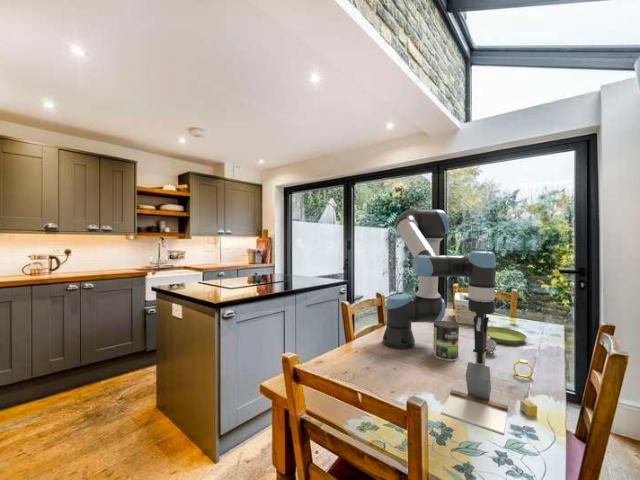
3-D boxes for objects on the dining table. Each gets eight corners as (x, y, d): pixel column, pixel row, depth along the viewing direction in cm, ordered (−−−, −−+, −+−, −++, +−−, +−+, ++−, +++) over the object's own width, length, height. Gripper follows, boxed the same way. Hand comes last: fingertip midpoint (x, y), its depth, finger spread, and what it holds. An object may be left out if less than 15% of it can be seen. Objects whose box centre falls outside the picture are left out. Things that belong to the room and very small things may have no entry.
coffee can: (464, 359, 127) (464, 326, 127) (443, 362, 125) (443, 328, 124) (447, 350, 137) (448, 319, 137) (428, 352, 135) (428, 321, 134)
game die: (491, 362, 134) (503, 349, 128) (472, 354, 135) (483, 341, 129) (489, 346, 141) (501, 333, 135) (471, 338, 142) (482, 326, 136)
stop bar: (450, 395, 99) (450, 392, 99) (451, 393, 101) (451, 389, 101) (507, 412, 90) (507, 408, 90) (507, 409, 91) (507, 405, 91)
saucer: (472, 338, 155) (472, 332, 155) (487, 329, 168) (487, 324, 168) (519, 350, 139) (519, 343, 139) (531, 339, 153) (531, 333, 153)
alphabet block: (529, 409, 91) (529, 400, 91) (537, 416, 88) (537, 405, 88) (519, 410, 91) (520, 400, 91) (527, 416, 88) (527, 406, 88)
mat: (440, 413, 89) (440, 411, 89) (450, 395, 99) (450, 394, 99) (503, 434, 80) (503, 433, 80) (507, 412, 90) (507, 411, 90)
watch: (531, 377, 113) (533, 361, 112) (532, 380, 110) (534, 364, 110) (512, 372, 116) (514, 357, 116) (512, 375, 114) (514, 359, 113)
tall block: (468, 396, 98) (465, 374, 93) (470, 383, 102) (468, 361, 97) (489, 403, 95) (487, 380, 90) (491, 389, 98) (489, 366, 93)
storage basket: (484, 327, 173) (484, 301, 172) (453, 323, 180) (453, 298, 180) (482, 316, 194) (482, 294, 194) (454, 313, 201) (455, 291, 201)
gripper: (492, 304, 90) (491, 383, 90) (496, 297, 100) (495, 367, 101) (465, 301, 94) (463, 376, 94) (471, 294, 105) (470, 362, 105)
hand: (480, 371), depth 98 cm, fingers closed
